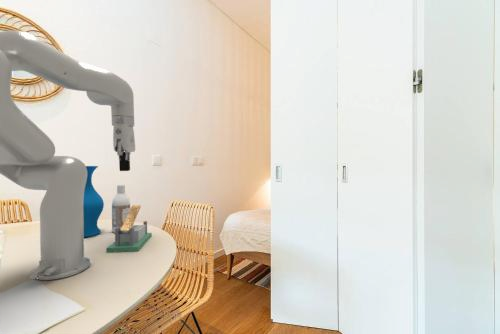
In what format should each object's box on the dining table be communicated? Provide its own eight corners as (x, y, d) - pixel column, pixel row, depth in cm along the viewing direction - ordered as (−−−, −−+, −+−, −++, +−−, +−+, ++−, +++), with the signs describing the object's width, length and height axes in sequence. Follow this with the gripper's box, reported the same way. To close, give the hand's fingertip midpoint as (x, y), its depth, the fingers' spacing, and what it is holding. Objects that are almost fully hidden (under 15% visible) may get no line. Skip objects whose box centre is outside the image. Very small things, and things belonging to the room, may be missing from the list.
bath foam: (119, 234, 99) (119, 185, 99) (108, 232, 102) (107, 185, 102) (133, 229, 106) (133, 184, 105) (122, 227, 108) (122, 183, 108)
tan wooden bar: (129, 234, 82) (129, 232, 82) (119, 235, 82) (118, 232, 81) (141, 207, 94) (140, 204, 93) (132, 207, 94) (131, 205, 93)
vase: (110, 231, 103) (110, 166, 102) (84, 240, 91) (83, 166, 90) (88, 229, 106) (87, 165, 105) (59, 238, 94) (58, 166, 93)
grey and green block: (138, 251, 81) (138, 229, 81) (106, 252, 80) (106, 230, 80) (151, 236, 97) (151, 217, 97) (125, 237, 96) (125, 218, 95)
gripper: (127, 119, 83) (128, 172, 85) (139, 124, 98) (140, 169, 99) (103, 119, 82) (105, 172, 83) (119, 124, 97) (121, 169, 98)
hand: (124, 170), depth 91 cm, fingers closed
